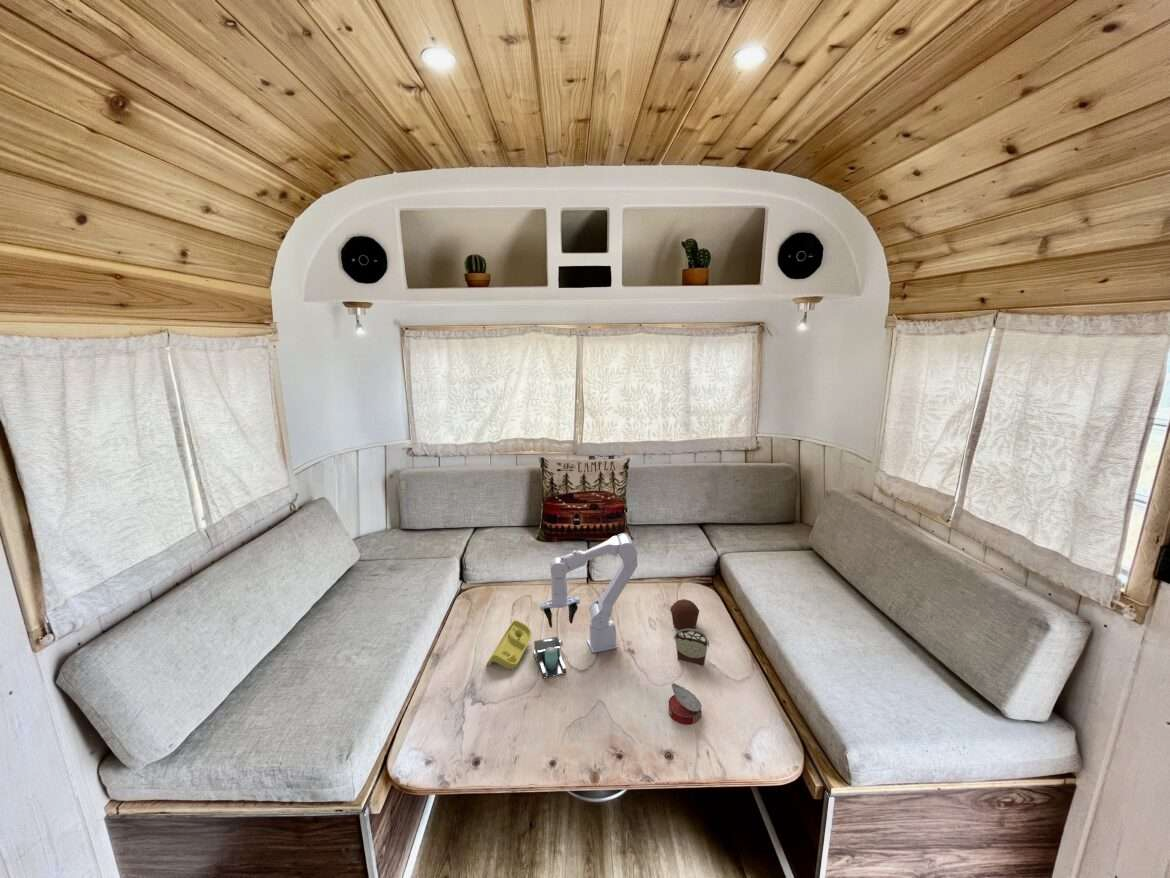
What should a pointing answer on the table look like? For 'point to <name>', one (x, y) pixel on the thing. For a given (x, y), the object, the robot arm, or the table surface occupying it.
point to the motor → (540, 655)
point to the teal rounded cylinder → (551, 658)
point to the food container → (691, 646)
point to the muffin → (684, 614)
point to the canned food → (684, 706)
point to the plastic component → (512, 645)
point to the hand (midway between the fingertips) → (560, 624)
